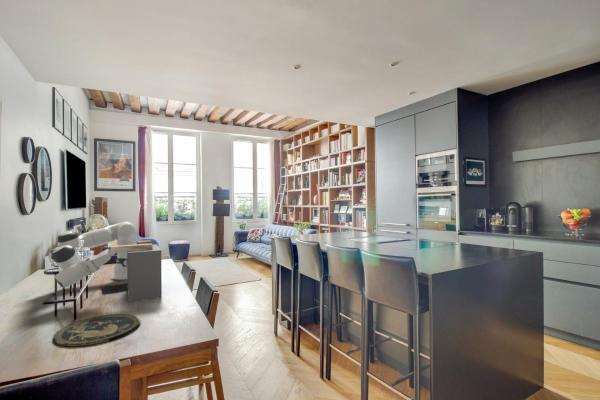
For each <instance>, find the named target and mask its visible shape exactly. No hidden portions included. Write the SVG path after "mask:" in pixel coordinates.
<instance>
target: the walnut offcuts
mask: <svg viewBox="0 0 600 400" xmlns="http://www.w3.org/2000/svg"><path fill="white" fill-rule="evenodd" d="M151 243H152V244H153V241H152V240H150V239H149V240H139V241H137V240H136V244H151Z"/></svg>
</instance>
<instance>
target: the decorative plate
mask: <svg viewBox="0 0 600 400" xmlns="http://www.w3.org/2000/svg"><path fill="white" fill-rule="evenodd" d="M140 326H141V320H140V318H139V317H138V316H136V315H133V314H127V313H126V314H125V313H115V314H105V315H99V316H98V315H97V316H94V317H93V316H92V317H89V318H86V319H82V320H77V321H76V322H73V323H70V324H68V325H66V326H64V327H62V328H61V329H59V330H58V331H56V333H54V335H53V337H52V342H53V344H54V345H56V346H58V347H61V348H86V347H93V346H98V345H99V346H100V345H103V344H107V343H110V342H113V341H116V340H119V339H123V338H124V337H126V336H129V335H131V334H133V333H134V332H135V331H137V330H138V329H139V328H140Z"/></svg>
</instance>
